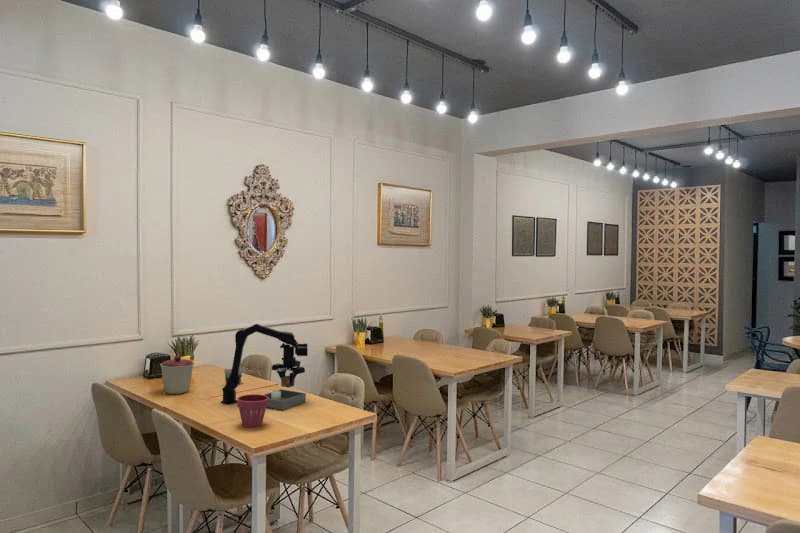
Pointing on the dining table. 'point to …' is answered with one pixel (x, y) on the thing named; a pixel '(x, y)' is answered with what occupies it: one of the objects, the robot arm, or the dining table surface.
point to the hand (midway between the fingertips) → (287, 384)
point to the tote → (286, 400)
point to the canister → (176, 375)
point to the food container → (228, 372)
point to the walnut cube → (286, 381)
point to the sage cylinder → (276, 395)
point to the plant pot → (252, 409)
